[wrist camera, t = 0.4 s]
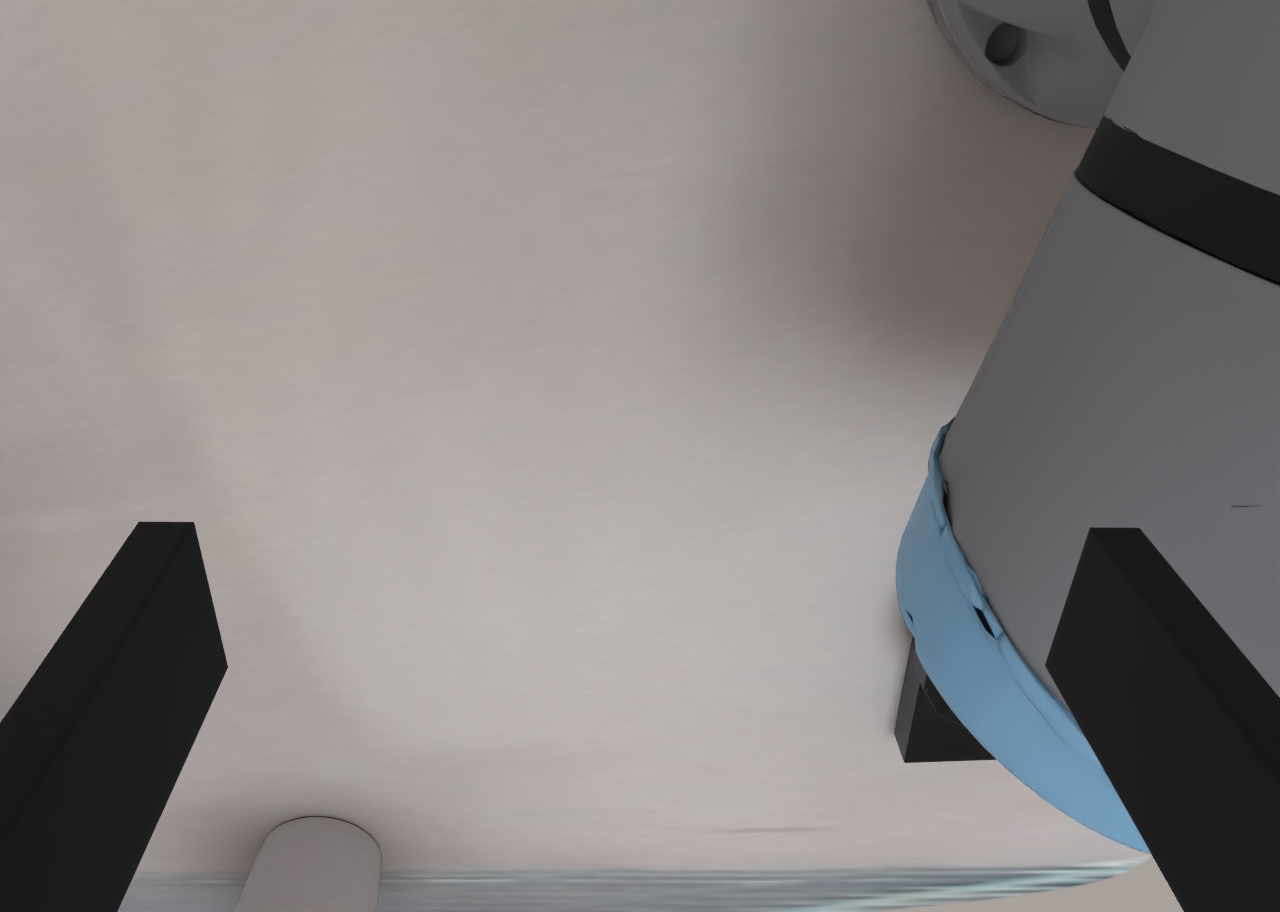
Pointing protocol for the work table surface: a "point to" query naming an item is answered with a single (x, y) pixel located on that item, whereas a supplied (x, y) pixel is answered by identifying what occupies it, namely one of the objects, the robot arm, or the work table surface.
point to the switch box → (931, 722)
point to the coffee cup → (314, 869)
